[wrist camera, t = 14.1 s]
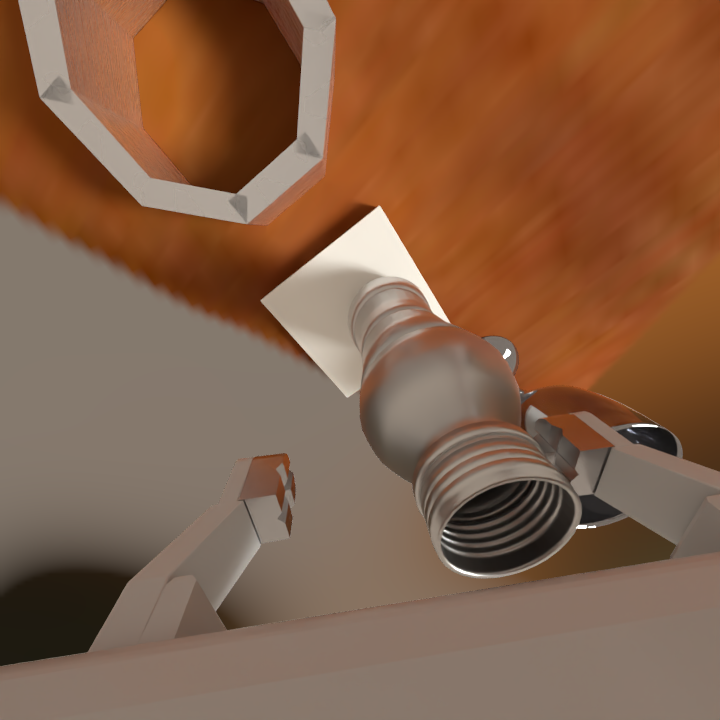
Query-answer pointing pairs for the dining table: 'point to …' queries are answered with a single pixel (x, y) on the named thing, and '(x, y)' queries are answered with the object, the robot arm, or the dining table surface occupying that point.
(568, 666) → the robot arm
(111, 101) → the steel collar
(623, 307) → the dining table surface
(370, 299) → the plastic bottle
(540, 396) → the wine glass
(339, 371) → the ceramic pad
